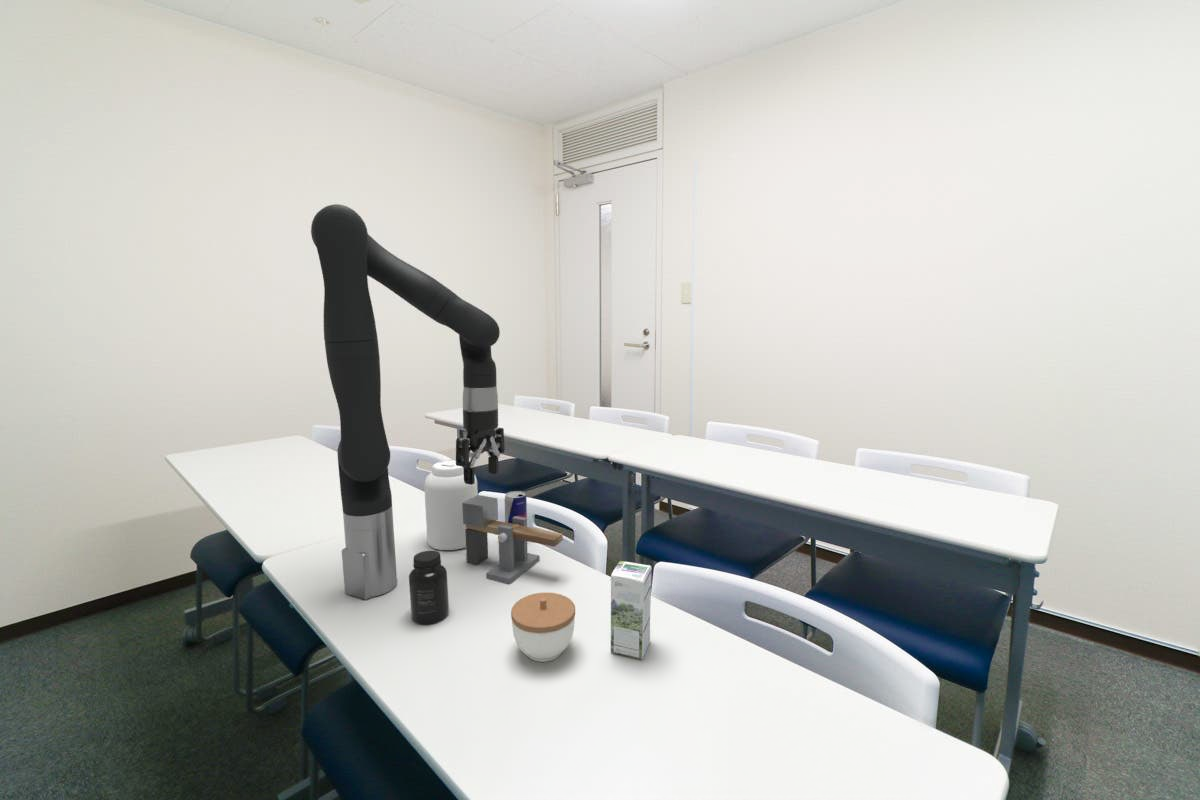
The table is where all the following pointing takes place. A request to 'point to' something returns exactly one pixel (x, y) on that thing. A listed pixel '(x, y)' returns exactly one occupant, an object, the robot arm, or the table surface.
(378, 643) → the table surface
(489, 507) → the block
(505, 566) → the stand
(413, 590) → the supplement bottle
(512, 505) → the energy drink
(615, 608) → the syrup box
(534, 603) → the lidded jar
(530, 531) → the beam
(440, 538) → the white protein powder tub
